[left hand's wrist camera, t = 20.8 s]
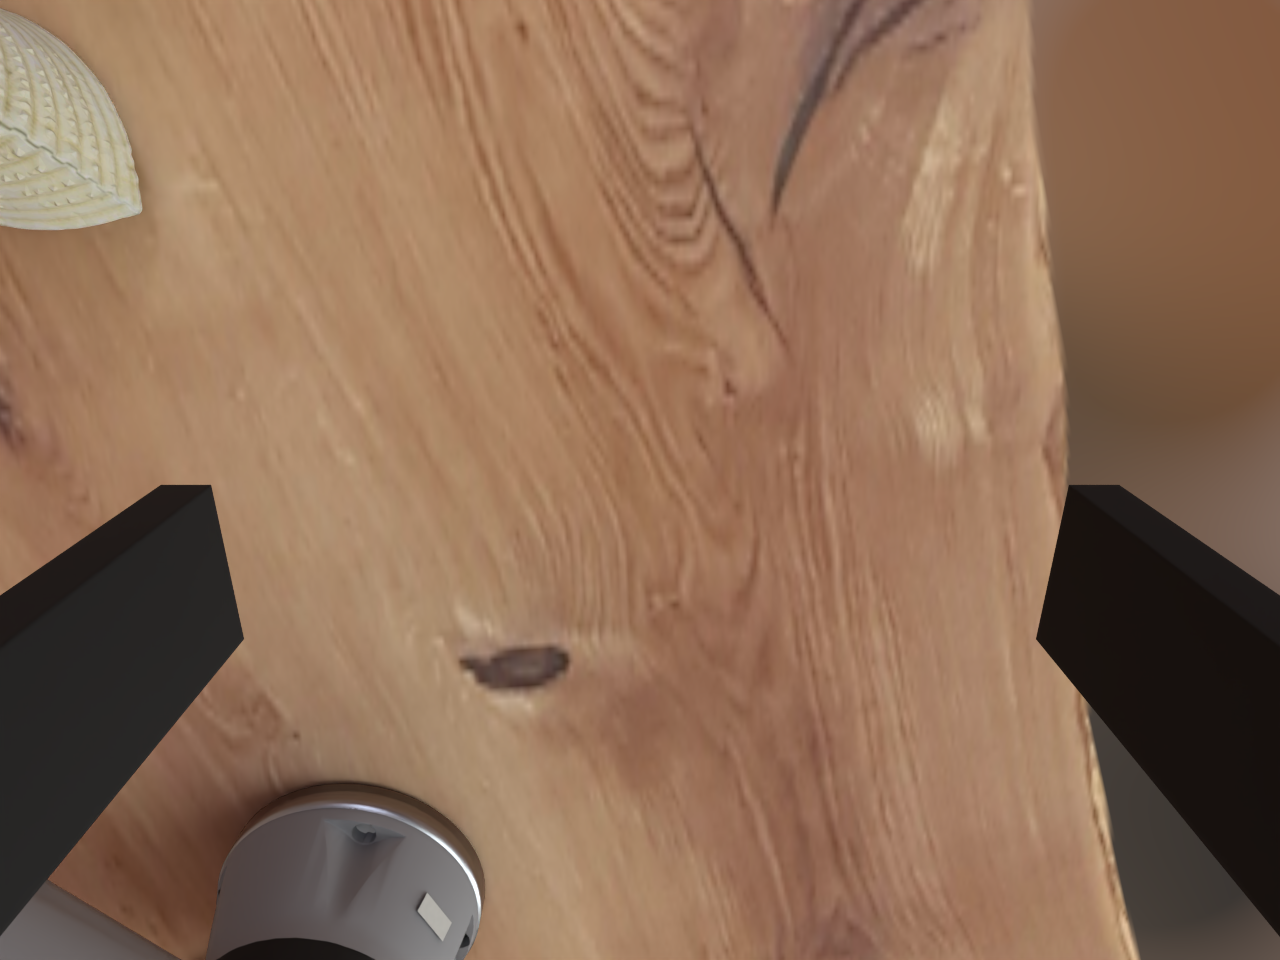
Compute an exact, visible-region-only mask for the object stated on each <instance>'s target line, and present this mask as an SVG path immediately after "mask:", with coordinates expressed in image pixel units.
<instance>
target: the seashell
mask: <svg viewBox="0 0 1280 960" xmlns="http://www.w3.org/2000/svg"><path fill="white" fill-rule="evenodd" d="M131 152H132V149H131V146H130V143H129V140H128V136H127V133H126V130H125V128H124V126H123V124H122V121H121V119H120V117H119V115H118V113H117V111H116V109H115V107H114V105H113V103H112V101H111V99H110V98H109V96H108V94H107V92H106V90H105V88H104V87H103V85H102V84H101V83H100V82H99V80H98V79H97V78H96V76H95V75H94V74H93V73H92V71H91V70H90V69H89V68H88V67H87V66H86V65H85V64H84V63H83V61H82V60H81V59H80V58H79V57H78V56H77V55H76V54H75V53H74V52H73V51H72V50H71V49H70V48H69V47H68V46H67V45H65V44H64V43H63V42H62V41H61V40H59V39H58V38H57V37H55V36H54V35H52V34H51V33H49V32H48V31H46V30H45V29H43V28H42V27H40V26H39V25H37V24H35V23H34V22H32V21H30V20H28V19H26V18H24V17H22V16H20V15H17V14H15V13H12V12H9V11H6V10H4V9H1V8H0V225H1V226H7V227H13V228H20V229H30V230H64V229H79V228H84V227H89V226H95V225H100V224H105V223H109V222H112V221H115V220H118V219H121V218H127V217H131V216H135V215H138V214H140V213H141V211H142V203H141V196H140V191H139V186H138V176H137V173H136V171H135V168H134V160H133V158H132V155H131Z"/></svg>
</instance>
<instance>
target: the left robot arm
mask: <svg viewBox="0 0 1280 960" xmlns="http://www.w3.org/2000/svg"><path fill="white" fill-rule="evenodd" d="M243 640H244V637H243V632H242V628H241V623H240V618H239V614H238V609H237V604H236V600H235V595H234V590H233V586H232V581H231V576H230V571H229V567H228V562H227V557H226V553H225V548H224V543H223V539H222V534H221V529H220V525H219V520H218V515H217V511H216V506H215V501H214V497H213V492H212V487H211V485H160V486H159V487H157V488H156V489H154V490H153V491H152V492H150V493H149V494H147V495H146V496H144V497H143V498H141V499H140V500H138V501H137V502H136V503H134V504H133V505H131V506H130V507H128V508H127V509H125V510H124V511H122V512H121V513H120V514H118V515H117V516H115V517H114V518H112V519H111V520H109V521H108V522H106V523H105V524H104V525H102V526H101V527H99V528H98V529H96V530H95V531H93V532H92V533H90V534H89V535H88V536H86V537H85V538H83V539H82V540H80V541H79V542H77V543H76V544H74V545H73V546H72V547H70V548H69V549H67V550H66V551H64V552H63V553H61V554H60V555H58V556H57V557H56V558H54V559H53V560H51V561H50V562H48V563H47V564H45V565H44V566H42V567H41V568H40V569H38V570H37V571H35V572H34V573H32V574H31V575H29V576H28V577H26V578H25V579H24V580H22V581H21V582H19V583H18V584H16V585H15V586H13V587H12V588H10V589H9V590H8V591H6V592H5V593H3V594H2V595H0V960H181V959H179V958H177V957H176V956H174V955H172V954H171V953H169V952H167V951H166V950H164V949H162V948H161V947H159V946H157V945H156V944H154V943H152V942H151V941H149V940H147V939H146V938H144V937H142V936H141V935H139V934H137V933H135V932H134V931H132V930H130V929H129V928H127V927H125V926H124V925H122V924H120V923H119V922H117V921H115V920H114V919H112V918H110V917H109V916H107V915H105V914H104V913H102V912H100V911H99V910H97V909H95V908H94V907H92V906H90V905H89V904H87V903H85V902H84V901H82V900H80V899H79V898H77V897H75V896H74V895H72V894H70V893H69V892H67V891H65V890H64V889H62V888H60V887H59V886H57V885H55V884H54V883H52V882H51V881H49V880H47V879H48V878H49V876H50V875H51V874H52V873H53V871H54V870H55V869H56V868H57V867H58V865H59V864H60V863H61V862H62V861H63V859H64V858H65V857H66V856H67V854H68V853H69V852H70V851H71V850H72V848H73V847H74V846H75V845H76V843H77V842H78V841H79V840H80V839H81V837H82V836H83V835H84V834H85V832H86V831H87V830H88V829H89V828H90V826H91V825H92V824H93V823H94V821H95V820H96V819H97V818H98V817H99V815H100V814H101V813H102V812H103V810H104V809H105V808H106V807H107V806H108V804H109V803H110V802H111V801H112V799H113V798H114V797H115V796H116V795H117V793H118V792H119V791H120V790H121V788H122V787H123V786H124V785H125V784H126V782H127V781H128V780H129V779H130V777H131V776H132V775H133V774H134V773H135V771H136V770H137V769H138V768H139V767H140V765H141V764H142V763H143V762H144V760H145V759H146V758H147V757H148V756H149V754H150V753H151V752H152V751H153V749H154V748H155V747H156V746H157V745H158V743H159V742H160V741H161V740H162V738H163V737H164V736H165V735H166V734H167V732H168V731H169V730H170V729H171V727H172V726H173V725H174V724H175V723H176V721H177V720H178V719H179V718H180V716H181V715H182V714H183V713H184V712H185V710H186V709H187V708H188V707H189V705H190V704H191V703H192V702H193V701H194V699H195V698H196V697H197V696H198V694H199V693H200V692H201V691H202V690H203V688H204V687H205V686H206V685H207V684H208V682H209V681H210V680H211V679H212V677H213V676H214V675H215V674H216V673H217V671H218V670H219V669H220V668H221V666H222V665H223V664H224V663H225V662H226V660H227V659H228V658H229V657H230V655H231V654H232V653H233V652H234V651H235V649H236V648H237V647H238V646H239V644H240V643H241V642H242V641H243ZM1036 640H1037V641H1038V642H1039V643H1040V644H1041V646H1042V647H1043V648H1044V649H1045V651H1046V652H1047V653H1048V654H1049V655H1050V657H1051V658H1052V659H1053V660H1054V662H1055V663H1056V664H1057V665H1058V666H1059V668H1060V669H1061V670H1062V671H1063V673H1064V674H1065V675H1066V676H1067V677H1068V679H1069V680H1070V681H1071V682H1072V684H1073V685H1074V686H1075V687H1076V688H1077V690H1078V691H1079V692H1080V693H1081V694H1082V696H1083V697H1084V698H1085V699H1086V701H1087V702H1088V703H1089V704H1090V705H1091V707H1092V708H1093V709H1094V710H1095V712H1096V713H1097V714H1098V715H1099V716H1100V718H1101V719H1102V720H1103V721H1104V723H1105V724H1106V725H1107V726H1108V727H1109V729H1110V730H1111V731H1112V732H1113V733H1114V735H1115V736H1116V737H1117V738H1118V740H1119V741H1120V742H1121V743H1122V745H1123V746H1124V747H1125V748H1126V749H1127V751H1128V752H1129V753H1130V754H1131V756H1132V757H1133V758H1134V759H1135V760H1136V762H1137V763H1138V764H1139V765H1140V766H1141V768H1142V769H1143V770H1144V771H1145V773H1146V774H1147V775H1148V776H1149V777H1150V779H1151V780H1152V781H1153V782H1154V784H1155V785H1156V786H1157V787H1158V788H1159V790H1160V791H1161V792H1162V793H1163V795H1164V796H1165V797H1166V798H1167V799H1168V801H1169V802H1170V803H1171V804H1172V806H1173V807H1174V808H1175V809H1176V810H1177V812H1178V813H1179V814H1180V815H1181V817H1182V818H1183V819H1184V820H1185V821H1186V823H1187V824H1188V825H1189V826H1190V828H1191V829H1192V830H1193V831H1194V832H1195V834H1196V835H1197V836H1198V837H1199V839H1200V840H1201V841H1202V842H1203V843H1204V845H1205V846H1206V847H1207V848H1208V850H1209V851H1210V852H1211V853H1212V854H1213V856H1214V857H1215V858H1216V859H1217V860H1218V862H1219V863H1220V864H1221V865H1222V867H1223V868H1224V869H1225V870H1226V871H1227V873H1228V874H1229V875H1230V876H1231V878H1232V879H1233V880H1234V881H1235V882H1236V884H1237V885H1238V886H1239V887H1240V889H1241V890H1242V891H1243V892H1244V893H1245V895H1246V896H1247V897H1248V898H1249V899H1250V901H1251V902H1252V903H1253V904H1254V906H1255V907H1256V908H1257V909H1258V911H1259V912H1260V913H1261V914H1262V915H1263V917H1264V918H1265V919H1266V920H1267V922H1268V923H1269V924H1270V925H1271V926H1272V928H1273V929H1274V930H1275V931H1276V933H1277V934H1278V935H1279V936H1280V595H1278V594H1277V593H1275V592H1274V591H1272V590H1271V589H1269V588H1268V587H1267V586H1265V585H1264V584H1262V583H1261V582H1259V581H1258V580H1256V579H1255V578H1253V577H1252V576H1251V575H1249V574H1248V573H1246V572H1245V571H1243V570H1242V569H1240V568H1239V567H1238V566H1236V565H1235V564H1233V563H1232V562H1230V561H1229V560H1227V559H1226V558H1224V557H1223V556H1222V555H1220V554H1219V553H1217V552H1216V551H1214V550H1213V549H1211V548H1210V547H1208V546H1207V545H1205V544H1204V543H1203V542H1201V541H1200V540H1198V539H1197V538H1195V537H1194V536H1192V535H1191V534H1190V533H1188V532H1187V531H1185V530H1184V529H1182V528H1181V527H1179V526H1178V525H1176V524H1175V523H1174V522H1172V521H1171V520H1169V519H1168V518H1166V517H1165V516H1163V515H1162V514H1160V513H1159V512H1158V511H1156V510H1155V509H1153V508H1152V507H1150V506H1149V505H1147V504H1146V503H1144V502H1143V501H1142V500H1140V499H1139V498H1137V497H1136V496H1134V495H1133V494H1131V493H1130V492H1128V491H1127V490H1126V489H1124V488H1123V487H1121V486H1120V485H1069V487H1068V492H1067V497H1066V501H1065V506H1064V511H1063V515H1062V520H1061V525H1060V529H1059V534H1058V539H1057V543H1056V548H1055V553H1054V557H1053V562H1052V567H1051V571H1050V576H1049V581H1048V586H1047V590H1046V595H1045V600H1044V604H1043V609H1042V614H1041V618H1040V623H1039V628H1038V632H1037V637H1036ZM484 897H485V880H484V874H483V870H482V867H481V864H480V861H479V859H478V856H477V854H476V852H475V851H474V849H473V847H472V845H471V844H470V842H469V841H468V840H467V838H466V837H465V836H464V835H463V834H462V832H461V831H460V830H459V829H458V828H457V827H456V826H455V825H454V824H453V823H452V822H450V821H449V820H448V819H447V818H446V817H444V816H443V815H442V814H440V813H439V812H437V811H436V810H434V809H433V808H431V807H429V806H428V805H426V804H424V803H422V802H420V801H418V800H416V799H414V798H411V797H409V796H407V795H404V794H401V793H398V792H395V791H392V790H388V789H384V788H380V787H374V786H368V785H359V784H327V785H320V786H314V787H310V788H305V789H301V790H298V791H295V792H292V793H290V794H287V795H285V796H283V797H280V798H279V799H277V800H275V801H273V802H271V803H270V804H268V805H267V806H265V807H264V808H263V809H261V810H260V811H259V812H258V813H257V814H256V815H254V817H253V818H252V819H251V820H250V821H249V822H248V823H247V825H246V826H245V827H244V829H243V830H242V832H241V834H240V835H239V837H238V839H237V840H236V842H235V844H234V846H233V847H232V849H231V851H230V852H229V854H228V856H227V858H226V860H225V862H224V864H223V866H222V869H221V872H220V875H219V880H218V891H217V902H216V910H215V915H214V919H213V924H212V929H211V934H210V939H209V944H208V949H207V955H206V960H463V959H464V958H465V956H466V955H467V953H468V952H469V950H470V949H471V947H472V945H473V943H474V941H475V938H476V935H477V932H478V927H479V923H480V918H481V913H482V908H483V903H484Z"/></svg>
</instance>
